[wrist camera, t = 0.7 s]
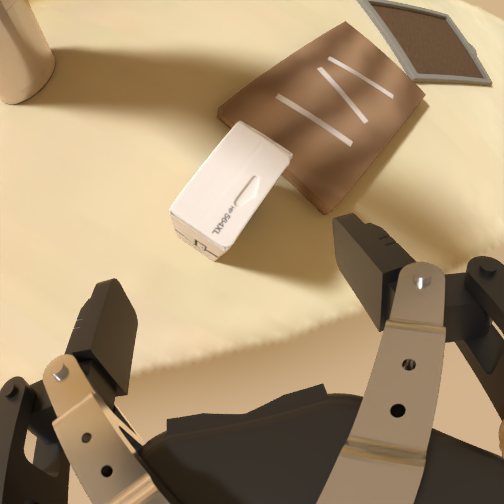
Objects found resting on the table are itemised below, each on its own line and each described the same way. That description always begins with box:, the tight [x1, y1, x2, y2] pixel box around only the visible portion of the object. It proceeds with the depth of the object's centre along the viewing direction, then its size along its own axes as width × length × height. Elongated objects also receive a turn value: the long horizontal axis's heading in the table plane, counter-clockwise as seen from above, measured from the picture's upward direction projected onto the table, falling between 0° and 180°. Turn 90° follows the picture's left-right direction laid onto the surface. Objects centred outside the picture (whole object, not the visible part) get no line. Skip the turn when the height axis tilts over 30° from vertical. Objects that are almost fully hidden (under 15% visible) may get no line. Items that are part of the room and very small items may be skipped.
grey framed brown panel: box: [357, 0, 492, 85], centre depth 43 cm, size 19×2×30 cm
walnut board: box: [217, 21, 426, 215], centre depth 35 cm, size 16×26×2 cm, turn 138°
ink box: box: [169, 121, 293, 261], centre depth 26 cm, size 9×5×12 cm, turn 147°
